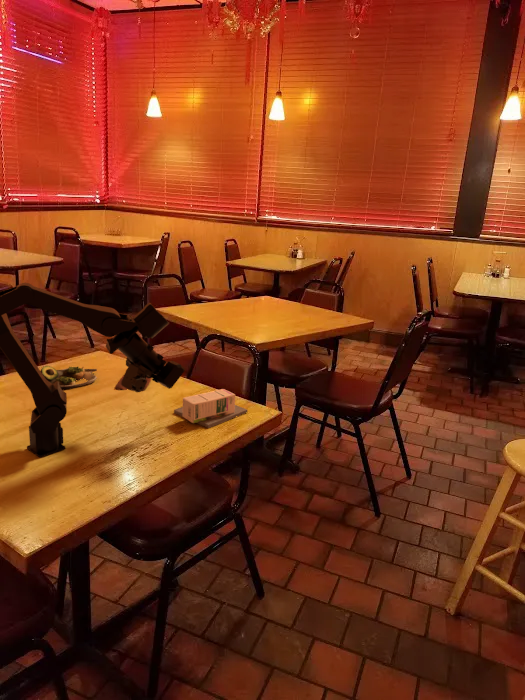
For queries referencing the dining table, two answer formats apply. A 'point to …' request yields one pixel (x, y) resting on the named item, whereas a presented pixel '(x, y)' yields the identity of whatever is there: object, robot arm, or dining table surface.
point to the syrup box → (208, 405)
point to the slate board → (217, 420)
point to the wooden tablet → (120, 387)
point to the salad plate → (68, 376)
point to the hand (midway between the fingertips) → (172, 384)
